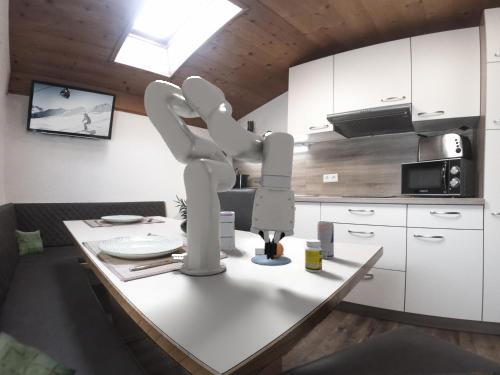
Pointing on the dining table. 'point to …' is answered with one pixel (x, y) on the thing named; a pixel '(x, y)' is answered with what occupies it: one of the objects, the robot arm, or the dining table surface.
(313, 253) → the supplement bottle
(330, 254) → the energy drink
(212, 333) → the dining table surface
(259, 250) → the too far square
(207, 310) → the dining table surface
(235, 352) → the dining table surface
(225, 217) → the syrup box
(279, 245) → the ball
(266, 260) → the disc
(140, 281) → the dining table surface
